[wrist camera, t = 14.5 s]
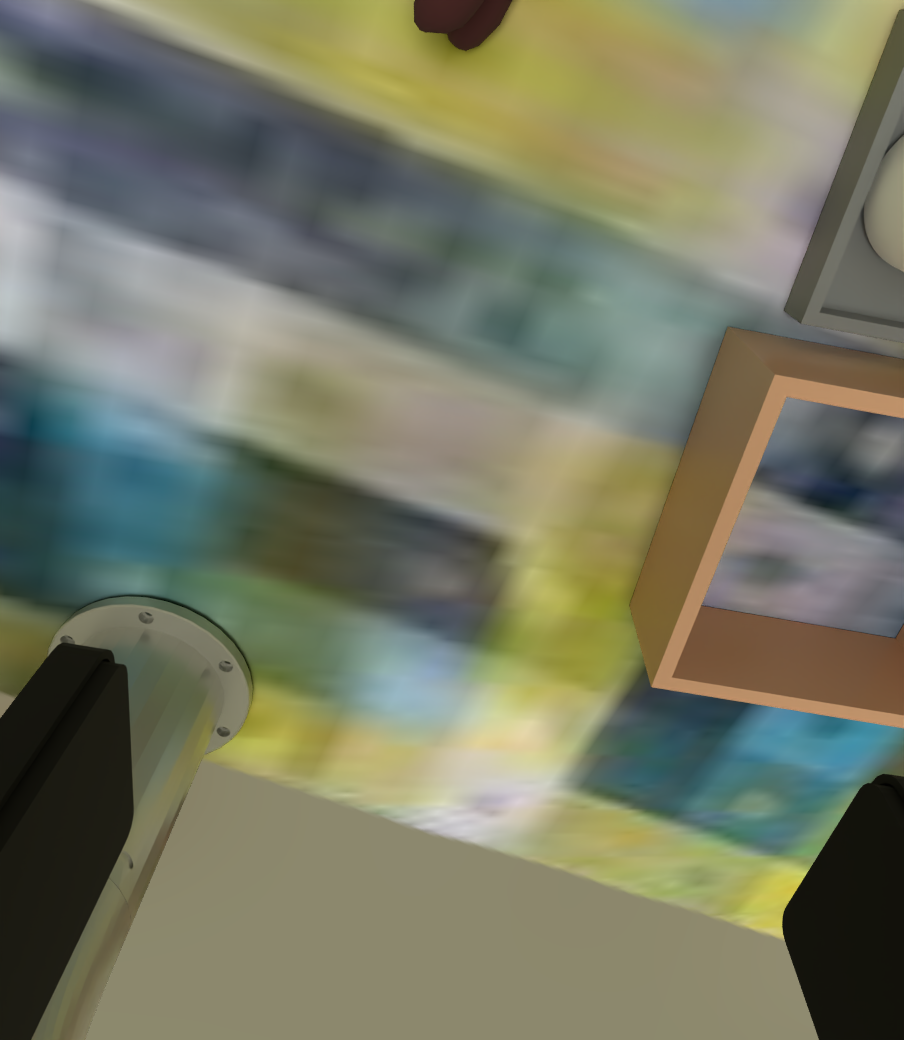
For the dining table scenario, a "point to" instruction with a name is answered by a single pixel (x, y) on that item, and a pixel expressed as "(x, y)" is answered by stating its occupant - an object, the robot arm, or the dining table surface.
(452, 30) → the icecream
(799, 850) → the dining table surface
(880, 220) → the can
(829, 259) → the tray
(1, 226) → the dining table surface
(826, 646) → the brown square frame
